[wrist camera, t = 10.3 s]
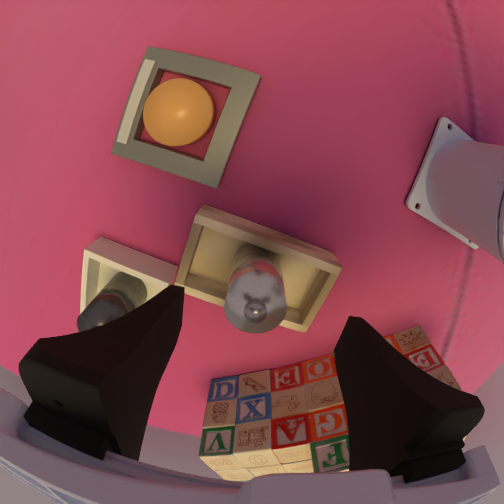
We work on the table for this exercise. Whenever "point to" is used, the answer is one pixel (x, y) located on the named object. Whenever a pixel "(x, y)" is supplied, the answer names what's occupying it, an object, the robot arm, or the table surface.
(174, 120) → the button
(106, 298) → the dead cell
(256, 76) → the grey square frame
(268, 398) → the stack of blocks
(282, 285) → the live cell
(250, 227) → the trough
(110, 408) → the robot arm
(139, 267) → the white square tray
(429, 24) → the table surface
